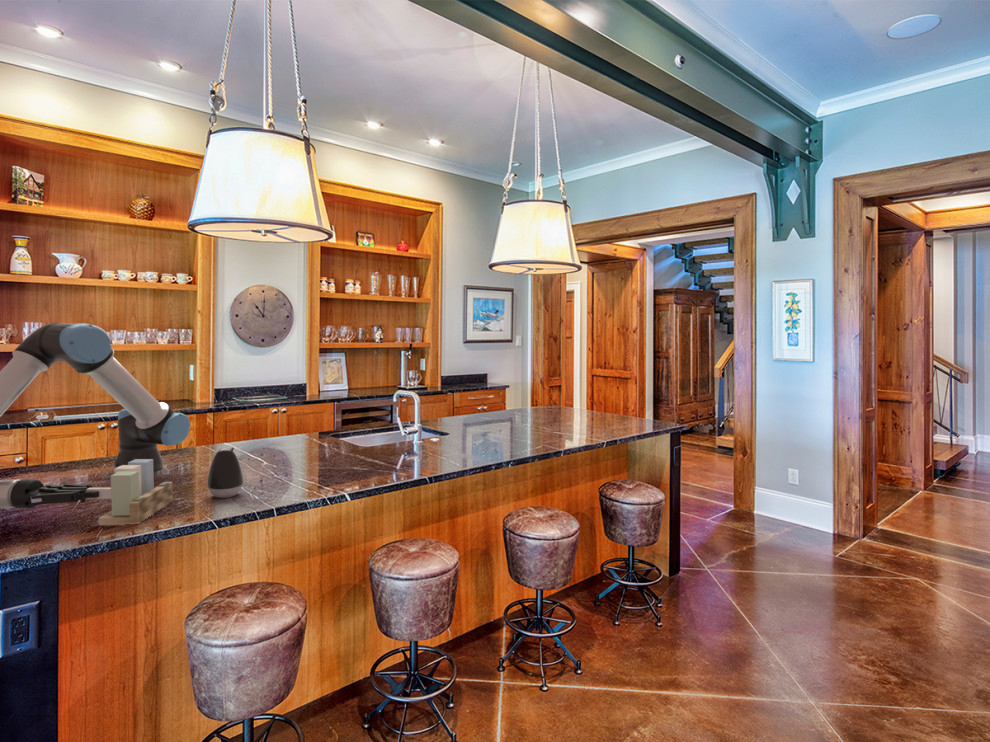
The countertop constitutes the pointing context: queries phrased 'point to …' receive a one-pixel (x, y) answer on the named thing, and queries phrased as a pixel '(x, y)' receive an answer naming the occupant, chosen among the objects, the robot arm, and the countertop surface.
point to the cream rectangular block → (127, 469)
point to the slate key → (145, 473)
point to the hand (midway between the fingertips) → (113, 493)
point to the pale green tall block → (124, 491)
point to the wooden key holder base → (142, 506)
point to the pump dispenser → (225, 474)
